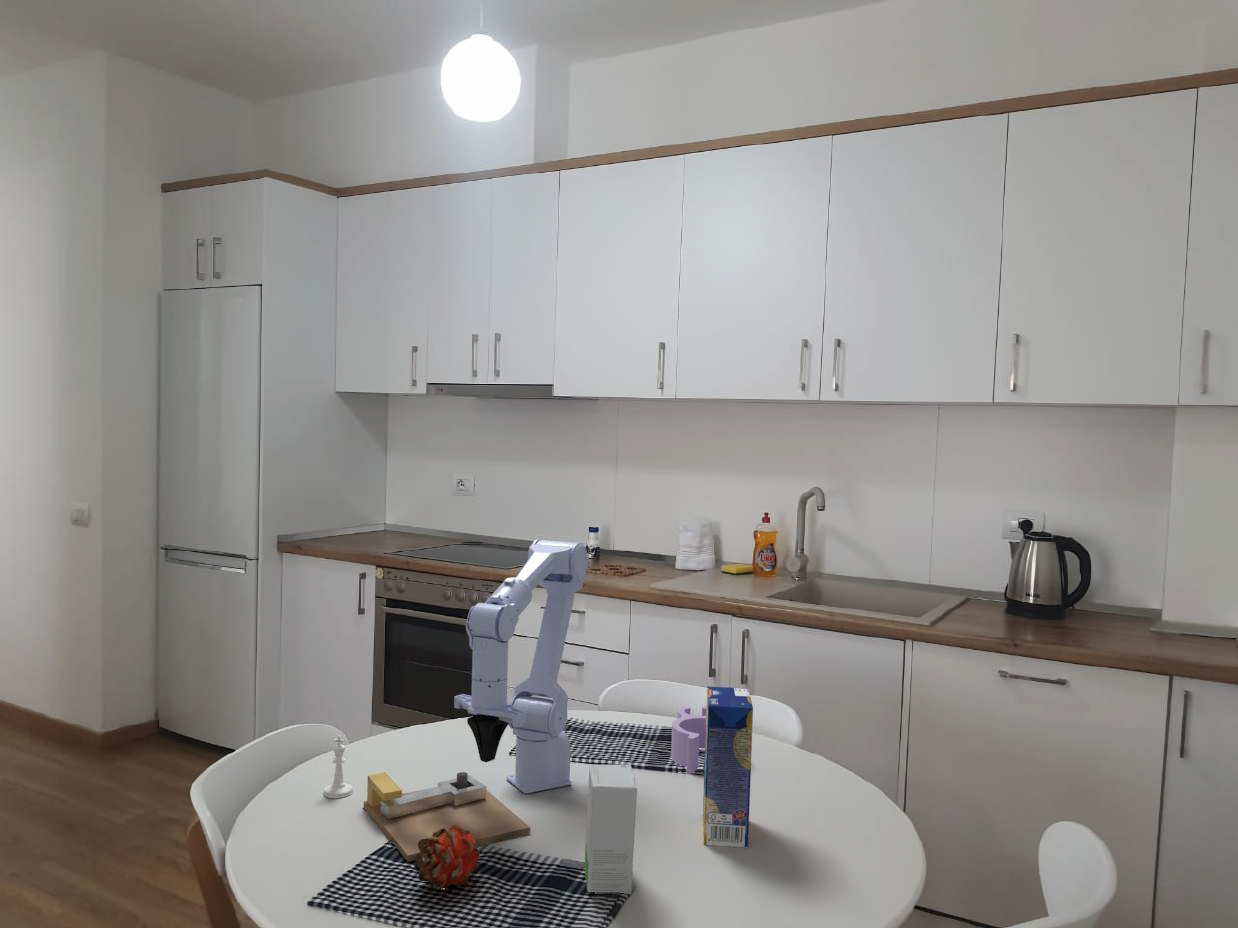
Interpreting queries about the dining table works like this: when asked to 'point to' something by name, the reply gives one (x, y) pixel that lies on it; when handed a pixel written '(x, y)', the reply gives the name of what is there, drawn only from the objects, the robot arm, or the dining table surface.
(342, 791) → the chess piece
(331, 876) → the dining table surface
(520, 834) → the board
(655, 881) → the dining table surface
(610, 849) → the skincare box
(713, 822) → the beverage box
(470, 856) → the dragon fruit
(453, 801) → the link
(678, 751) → the clip
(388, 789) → the block
